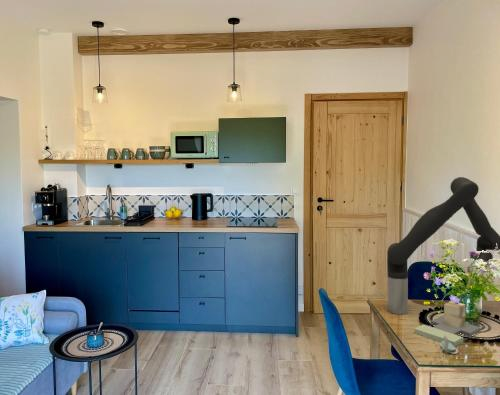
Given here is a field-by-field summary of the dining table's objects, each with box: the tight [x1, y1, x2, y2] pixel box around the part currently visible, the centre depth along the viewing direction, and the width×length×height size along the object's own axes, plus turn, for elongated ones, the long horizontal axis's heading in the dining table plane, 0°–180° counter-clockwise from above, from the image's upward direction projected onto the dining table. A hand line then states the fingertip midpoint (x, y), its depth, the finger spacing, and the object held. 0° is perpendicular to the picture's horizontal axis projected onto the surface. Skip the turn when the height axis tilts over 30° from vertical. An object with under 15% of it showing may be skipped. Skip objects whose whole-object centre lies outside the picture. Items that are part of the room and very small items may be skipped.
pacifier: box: [439, 335, 459, 355], centre depth 154 cm, size 7×6×6 cm
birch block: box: [443, 300, 466, 328], centre depth 173 cm, size 6×6×9 cm
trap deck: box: [414, 315, 482, 348], centre depth 170 cm, size 22×17×2 cm
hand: (465, 303), depth 178 cm, fingers closed
